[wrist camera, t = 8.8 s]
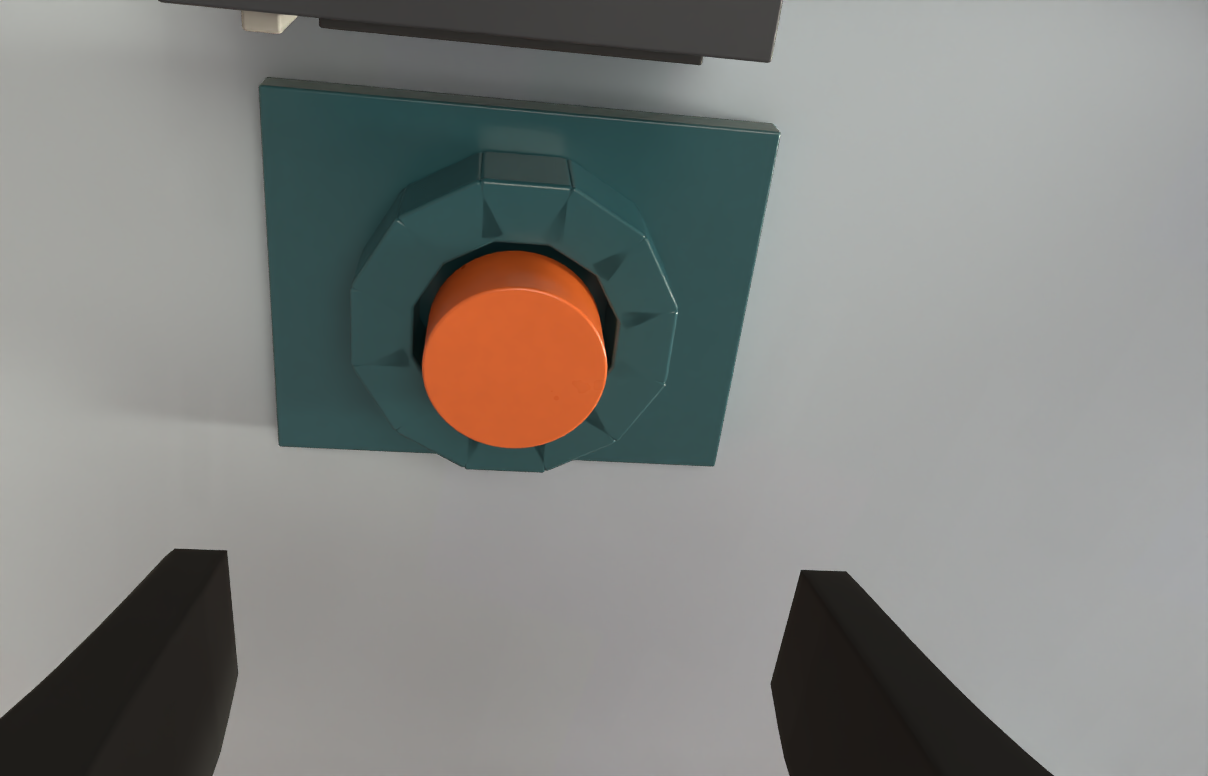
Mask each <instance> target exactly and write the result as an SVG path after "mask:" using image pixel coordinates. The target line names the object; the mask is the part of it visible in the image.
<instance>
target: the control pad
mask: <svg viewBox="0 0 1208 776" xmlns="http://www.w3.org/2000/svg"><path fill="white" fill-rule="evenodd" d="M259 102H260V120H261V138H262V156H263V174H264V192H265V210H266V228H267V246H268V264H269V282H270V299H271V317H272V335H273V353H274V371H275V389H276V407H277V425H278V443H279V446H284V447H305V448H327V449H348V450H370V451H391V452H413V453H434V454H438V455H440V456H442V457H444V458H446V459H448V460H450V461H451V462H453V463H455V464H457V465H459V466H461V467H465V469H474V470H496V471H518V472H541V473H543V472H544V471H547V470H550V469H553V468H555V467H558V466H560V465H562V464H565V463H567V462H570V461H572V460H584V461H606V462H627V463H649V464H670V465H692V466H714V465H715V461H716V456H717V451H718V446H719V441H720V436H721V431H722V426H723V421H724V416H725V411H726V406H727V401H728V396H729V391H730V386H731V381H732V376H733V371H734V366H735V361H736V356H737V351H738V346H739V341H740V336H741V331H742V326H743V321H744V316H745V311H746V306H747V301H748V296H749V291H750V286H751V281H752V276H753V271H754V266H755V261H756V256H757V251H758V246H759V241H760V236H761V231H762V226H763V221H764V216H765V211H766V206H767V201H768V196H769V191H770V186H771V181H772V176H773V171H774V166H775V161H776V156H777V151H778V145H779V140H780V135H781V134H780V132H779V130H778V129H777V128H776V127H775V126H774V124H772V123H761V122H750V121H739V120H728V119H718V118H707V117H696V116H685V115H674V114H663V113H652V112H641V111H630V110H619V109H609V108H598V107H587V106H576V105H565V104H554V103H543V102H532V101H521V100H511V99H500V98H489V97H478V96H467V95H456V94H445V93H434V92H423V91H412V90H402V89H391V88H380V87H369V86H358V85H347V84H336V83H325V82H314V81H304V80H293V79H282V78H271V77H267V78H266V79H265V80H264V81H263V82H262V83H261V84H260V85H259ZM502 251H526V252H533V253H537V254H540V255H544V256H547V257H549V258H552V259H554V260H556V261H558V262H560V263H561V264H563V265H565V266H566V267H568V268H569V269H570V270H572V271H573V272H574V273H575V274H576V275H577V276H578V277H579V278H580V279H581V280H582V281H583V282H584V284H585V285H586V286H587V287H588V289H589V291H590V292H591V294H592V296H593V298H594V300H595V303H596V305H597V308H598V312H599V317H600V322H601V328H602V333H603V339H604V344H605V350H606V356H607V378H606V382H605V387H604V390H603V392H602V395H601V397H600V399H599V401H598V403H597V405H596V406H595V408H594V409H593V411H592V412H591V413H590V415H589V416H588V417H587V418H586V419H585V420H584V421H583V422H582V423H581V424H580V425H579V426H577V427H576V428H575V429H574V430H572V431H571V432H569V433H568V434H566V435H565V436H563V437H560V438H558V439H556V440H554V441H552V442H549V443H546V444H543V445H538V446H534V447H527V448H502V447H495V446H490V445H486V444H483V443H480V442H477V441H475V440H473V439H471V438H468V437H466V436H465V435H463V434H461V433H460V432H458V431H457V430H455V429H454V428H453V427H452V426H450V425H449V424H448V423H447V422H446V421H445V420H444V419H443V418H442V417H441V416H440V415H439V413H438V412H437V411H436V409H435V408H434V406H433V405H432V403H431V401H430V399H429V397H428V395H427V392H426V389H425V387H424V382H423V377H422V358H423V351H424V344H425V338H426V331H427V324H428V318H429V313H430V309H431V305H432V303H433V300H434V298H435V296H436V294H437V292H438V291H439V289H440V287H441V286H442V285H443V283H444V282H445V281H446V280H447V279H448V278H449V277H450V276H451V275H452V274H453V273H454V272H455V271H456V270H458V269H459V268H460V267H462V266H463V265H465V264H466V263H468V262H470V261H472V260H474V259H476V258H479V257H481V256H484V255H487V254H491V253H495V252H502Z"/></svg>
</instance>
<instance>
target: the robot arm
mask: <svg viewBox="0 0 1208 776" xmlns="http://www.w3.org/2000/svg"><path fill="white" fill-rule="evenodd" d="M237 677H238V666H237V655H236V644H235V633H234V622H233V611H232V600H231V589H230V578H229V567H228V556H227V550H198V549H174V550H173V551H171V552H170V553H169V554H168V555H166V556H165V557H164V558H163V559H162V561H161V562H160V563H159V564H158V565H157V566H156V567H155V568H154V569H153V570H152V571H151V572H150V573H149V574H148V575H147V576H146V578H145V579H144V580H143V581H142V582H141V583H140V584H139V585H138V586H137V587H136V588H135V589H134V590H133V591H132V592H131V593H130V595H129V596H128V597H127V598H126V599H125V600H124V601H123V602H122V603H121V604H120V605H119V606H118V607H117V608H116V609H115V610H114V611H113V612H112V613H111V614H110V615H109V616H108V617H107V618H106V619H105V620H104V621H103V622H102V623H101V624H100V626H99V627H98V628H97V629H96V630H95V631H94V632H92V633H91V634H90V635H89V636H88V637H87V638H86V639H85V640H84V641H83V642H82V643H81V644H80V645H79V646H78V647H77V648H76V649H75V650H74V651H73V652H72V653H71V654H70V655H69V656H68V657H67V658H66V659H65V660H64V661H63V662H62V663H61V664H60V665H59V666H58V667H57V668H56V669H55V670H54V671H53V672H51V673H50V674H49V675H48V676H47V677H46V678H45V679H44V680H43V681H42V682H41V683H40V684H39V685H37V686H36V687H35V688H34V689H33V690H32V691H31V692H30V693H28V694H27V695H26V696H25V697H24V698H23V699H22V700H21V701H19V702H18V703H17V704H16V705H15V706H14V707H13V708H12V709H10V710H9V711H8V712H7V713H6V714H5V715H4V716H3V717H1V718H0V776H212V775H213V773H214V770H215V767H216V764H217V761H218V758H219V755H220V752H221V748H222V744H223V740H224V735H225V731H226V727H227V723H228V718H229V714H230V709H231V705H232V700H233V696H234V691H235V686H236V682H237ZM771 689H772V695H773V701H774V707H775V712H776V718H777V724H778V729H779V734H780V739H781V744H782V749H783V754H784V759H785V762H786V765H787V769H788V772H789V775H790V776H1054V775H1052V774H1051V773H1050V772H1049V771H1047V770H1046V769H1045V768H1044V767H1043V766H1042V765H1040V764H1039V763H1038V762H1037V761H1036V760H1035V759H1033V758H1032V757H1031V756H1030V755H1029V754H1028V753H1026V752H1025V751H1024V750H1023V749H1022V748H1021V747H1020V746H1019V745H1017V744H1016V743H1015V742H1014V741H1013V740H1012V739H1011V738H1010V737H1009V736H1008V735H1007V734H1005V733H1004V732H1003V731H1002V730H1001V729H1000V728H999V727H998V726H997V725H996V724H994V723H993V722H992V721H991V720H990V719H989V718H988V717H987V716H986V715H985V714H984V713H983V712H982V711H980V710H979V709H978V708H977V707H976V706H975V705H974V704H973V703H972V702H971V701H970V700H969V699H968V698H967V697H966V696H965V695H964V694H963V693H962V692H961V691H960V690H959V689H958V688H957V687H956V686H955V685H954V684H953V683H952V682H951V681H950V680H949V679H948V678H947V677H946V676H945V675H944V674H943V673H942V672H941V671H940V670H939V669H938V668H937V667H936V666H935V665H934V664H933V663H932V662H931V661H930V660H929V659H928V658H927V657H926V656H925V655H924V653H923V652H922V651H921V650H920V649H919V648H918V647H917V646H916V645H915V644H914V643H913V642H912V641H911V640H910V639H909V638H908V637H907V636H906V634H905V633H904V632H903V631H902V630H901V629H900V628H899V627H898V626H897V625H896V624H895V623H894V622H893V621H892V620H891V618H890V617H889V616H888V615H887V614H886V613H885V612H884V611H883V610H882V609H881V608H880V607H879V606H878V604H877V603H876V602H875V601H874V600H873V599H872V598H871V597H870V596H869V595H868V594H867V593H866V592H865V590H864V589H863V588H862V587H861V586H860V585H859V584H858V583H857V582H856V581H855V580H854V579H853V578H852V577H851V576H850V575H849V574H848V573H847V572H846V571H816V570H801V572H800V576H799V580H798V583H797V587H796V591H795V595H794V598H793V602H792V606H791V610H790V613H789V617H788V621H787V625H786V628H785V632H784V636H783V639H782V643H781V647H780V651H779V654H778V658H777V662H776V666H775V669H774V673H773V677H772V681H771Z"/></svg>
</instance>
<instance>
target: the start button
mask: <svg viewBox="0 0 1208 776" xmlns="http://www.w3.org/2000/svg"><path fill="white" fill-rule="evenodd" d="M422 377H423V382H424V387H425V389H426V392H427V395H428V397H429V399H430V401H431V403H432V405H433V406H434V408H435V409H436V411H437V412H438V413H439V415H440V416H441V417H442V418H443V419H444V420H445V421H446V422H447V423H448V424H449V425H450V426H452V427H453V428H454V429H455V430H457V431H458V432H460V433H461V434H463V435H465V436H466V437H468V438H471V439H473V440H475V441H477V442H480V443H483V444H486V445H490V446H495V447H502V448H527V447H534V446H538V445H543V444H546V443H549V442H552V441H554V440H556V439H558V438H560V437H563V436H565V435H566V434H568V433H569V432H571V431H572V430H574V429H575V428H576V427H577V426H579V425H580V424H581V423H582V422H583V421H584V420H585V419H586V418H587V417H588V416H589V415H590V413H591V412H592V411H593V409H594V408H595V406H596V405H597V403H598V401H599V399H600V397H601V395H602V392H603V390H604V387H605V382H606V378H607V356H606V350H605V344H604V339H603V333H602V328H601V322H600V317H599V312H598V308H597V305H596V303H595V300H594V298H593V296H592V294H591V292H590V291H589V289H588V287H587V286H586V285H585V284H584V282H583V281H582V280H581V279H580V278H579V277H578V276H577V275H576V274H575V273H574V272H573V271H572V270H570V269H569V268H568V267H566V266H565V265H563V264H561V263H560V262H558V261H556V260H554V259H552V258H549V257H547V256H544V255H540V254H537V253H533V252H526V251H502V252H495V253H491V254H487V255H484V256H481V257H479V258H476V259H474V260H472V261H470V262H468V263H466V264H465V265H463V266H462V267H460V268H459V269H458V270H456V271H455V272H454V273H453V274H452V275H451V276H450V277H449V278H448V279H447V280H446V281H445V282H444V283H443V285H442V286H441V287H440V289H439V291H438V292H437V294H436V296H435V298H434V300H433V303H432V305H431V309H430V313H429V318H428V324H427V331H426V338H425V344H424V351H423V358H422Z"/></svg>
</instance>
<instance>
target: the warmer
mask: <svg viewBox="0 0 1208 776" xmlns="http://www.w3.org/2000/svg"><path fill="white" fill-rule="evenodd" d="M158 1H160V2H163V3H173V4H183V5H193V6H203V7H213V8H223V9H233V10H241V16H242V27H243V29H244V30H246V31H252V32H263V33H273V34H280V33H282V32H283V31H284V30H285V29H286V28H287V27H288V26H289V25H290V24H291V23H292V22H293V21H294V20H295V19H296V18H297V17H298V16H304V17H314V18H319V26H320V27H321V28H328V29H338V30H348V31H358V32H368V33H378V34H388V35H399V36H409V37H419V38H429V39H439V40H449V41H460V42H470V43H480V44H490V45H500V46H510V47H520V48H531V49H541V50H551V51H561V52H571V53H581V54H592V55H602V56H612V57H622V58H632V59H642V60H652V61H663V62H673V63H683V64H693V65H701V64H702V60H703V56H705V57H715V58H725V59H735V60H745V61H755V62H765V63H768V62H771V60H772V56H773V50H774V45H775V40H776V34H777V29H778V24H779V18H780V13H781V8H782V2H783V0H158Z"/></svg>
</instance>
